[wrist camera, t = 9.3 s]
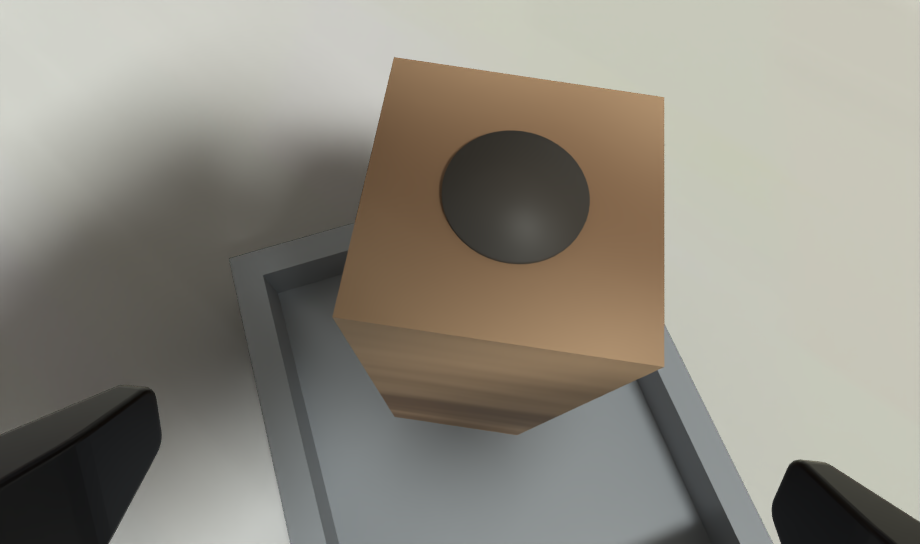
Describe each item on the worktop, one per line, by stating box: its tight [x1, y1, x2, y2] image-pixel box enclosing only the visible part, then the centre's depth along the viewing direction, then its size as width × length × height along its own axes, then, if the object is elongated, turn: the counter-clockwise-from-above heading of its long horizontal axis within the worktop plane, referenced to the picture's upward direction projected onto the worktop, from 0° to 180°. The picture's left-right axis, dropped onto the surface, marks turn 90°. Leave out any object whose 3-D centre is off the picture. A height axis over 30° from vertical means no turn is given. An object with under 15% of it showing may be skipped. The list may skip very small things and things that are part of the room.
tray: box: [229, 223, 773, 544], centre depth 19 cm, size 16×14×3 cm
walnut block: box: [333, 57, 664, 435], centre depth 14 cm, size 4×4×13 cm
